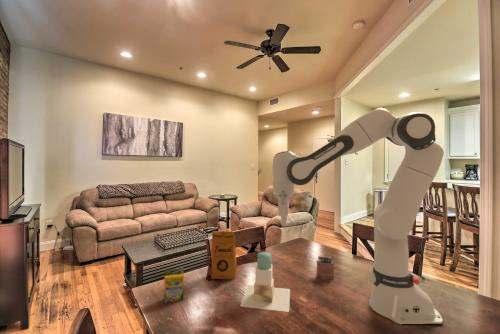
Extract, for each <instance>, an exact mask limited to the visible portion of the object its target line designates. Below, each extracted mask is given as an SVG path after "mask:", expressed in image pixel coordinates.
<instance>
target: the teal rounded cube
mask: <svg viewBox="0 0 500 334" xmlns="http://www.w3.org/2000/svg"><path fill="white" fill-rule="evenodd" d="M256 258H257V263H256V264H257V265H256V267H258V268H259V269H261V270H269V269H271V264H272V253H271V252H268V251H260V252H258V253H257V257H256Z"/></svg>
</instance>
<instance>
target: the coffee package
mask: <svg viewBox="0 0 500 334" xmlns="http://www.w3.org/2000/svg"><path fill="white" fill-rule="evenodd" d="M211 235H212V237H211V238H212V239H211V253H210V254H211V268H212V269H211V277H210V278H211V280H223V281H224V280H235V278H236V277H237V275H238V261H237V256H236V255H237V252H236V250H237V249H236V247H237V246H236V236H235V231H230V230H229V231H225V230H213V231H212V233H211Z"/></svg>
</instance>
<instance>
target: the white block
mask: <svg viewBox="0 0 500 334" xmlns="http://www.w3.org/2000/svg"><path fill="white" fill-rule="evenodd" d="M273 266H274V265H273V264H272V263H271V269H269V270H261V269H259V268H258V267H257V266H256V267H255V281H256V285H263V286H271V284H272V279H274V277H273V275H274V273H273V270H274V267H273Z"/></svg>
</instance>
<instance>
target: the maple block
mask: <svg viewBox="0 0 500 334" xmlns="http://www.w3.org/2000/svg"><path fill="white" fill-rule="evenodd" d="M253 285H254V301H260V302H269V303H272V301H273V295H274V288H275V279H274V278H273V279H272V284H271V286H263V285H256V280H255V281H254V284H253Z"/></svg>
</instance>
